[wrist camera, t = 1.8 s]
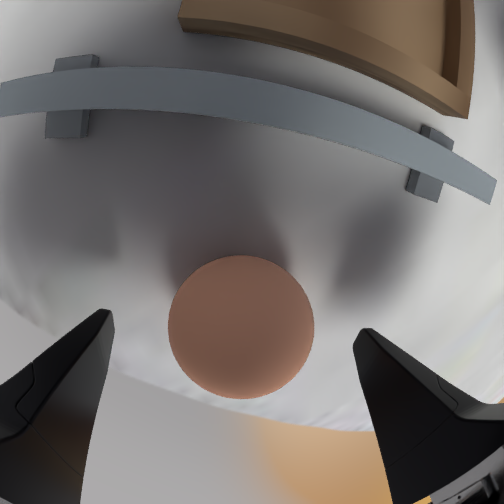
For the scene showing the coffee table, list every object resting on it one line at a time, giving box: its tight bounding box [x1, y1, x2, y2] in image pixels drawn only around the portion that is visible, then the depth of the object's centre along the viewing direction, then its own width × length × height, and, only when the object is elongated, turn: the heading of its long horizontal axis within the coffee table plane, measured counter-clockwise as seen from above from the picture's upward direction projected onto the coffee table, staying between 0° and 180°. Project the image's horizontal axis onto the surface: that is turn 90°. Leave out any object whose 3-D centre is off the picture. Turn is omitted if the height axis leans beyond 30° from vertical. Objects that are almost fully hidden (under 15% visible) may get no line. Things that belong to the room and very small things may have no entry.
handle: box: [0, 54, 497, 205], centre depth 7 cm, size 16×3×4 cm, turn 79°
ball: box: [168, 255, 314, 399], centre depth 9 cm, size 5×5×5 cm
